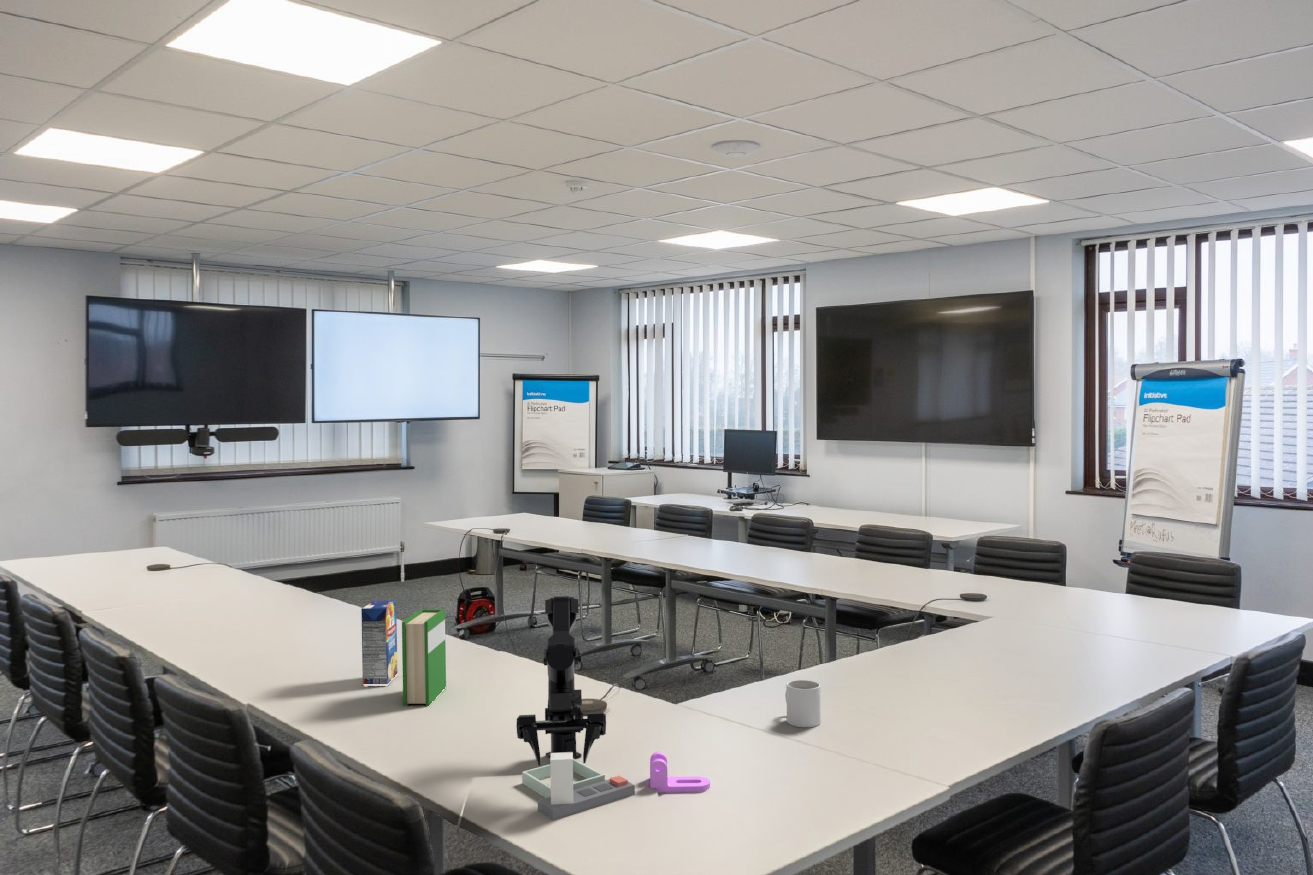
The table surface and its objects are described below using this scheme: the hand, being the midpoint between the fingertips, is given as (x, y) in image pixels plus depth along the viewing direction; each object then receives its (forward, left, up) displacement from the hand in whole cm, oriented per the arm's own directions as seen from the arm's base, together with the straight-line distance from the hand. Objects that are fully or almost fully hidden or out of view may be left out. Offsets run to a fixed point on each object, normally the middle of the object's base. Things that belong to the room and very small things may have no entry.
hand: (561, 763), depth 189 cm
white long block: (+2, -1, -9) cm, 9 cm away
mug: (-8, +79, -10) cm, 80 cm away
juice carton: (-118, +6, -10) cm, 119 cm away
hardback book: (-93, +10, -10) cm, 94 cm away
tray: (-9, +6, -10) cm, 14 cm away
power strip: (+2, +5, -10) cm, 11 cm away
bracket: (+6, +26, -10) cm, 29 cm away
